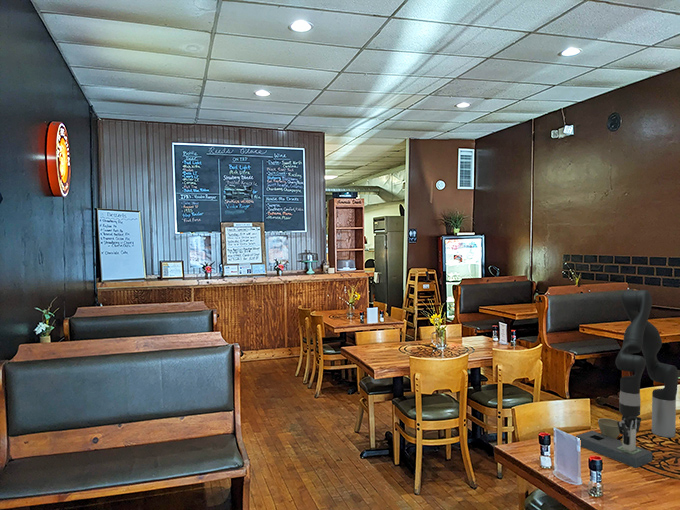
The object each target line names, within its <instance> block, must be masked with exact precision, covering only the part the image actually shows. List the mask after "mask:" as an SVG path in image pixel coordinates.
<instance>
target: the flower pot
mask: <svg viewBox="0 0 680 510" xmlns="http://www.w3.org/2000/svg"><path fill="white" fill-rule="evenodd" d="M618 421H619V420H616V419H613V418H603V417H601V418H598V419H597V424H598V428H599V430H600V433H601V434H603V435H606V436H609V437H612V438H615V439H617V438H618V437H619V436H620V435H621V434H620V432H619V428H618V424H617V422H618Z"/></svg>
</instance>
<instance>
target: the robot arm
mask: <svg viewBox="0 0 680 510" xmlns="http://www.w3.org/2000/svg"><path fill="white" fill-rule="evenodd" d="M620 301H621V304H622V307H623V309H624V311H625V313H626V315H627V317H628V319H629V322H630V324H629V325H628V326H627V327H626V329H625V331H624V334H623V342H622V347H621V348H620V350H619V352H618V354H617V356H616V358H615V366H616V368H617V369H618V370H620V371H623V372H629V373H634V374H633V375H624V376H622V377H620V380H619V383H620V385H619V386H620V388H619V395H618V397H619V398H618V399H619V400H618V401H619V403H618V406H619V407H618V408H619V409H618V410H619V413H620V414H621V421H619V420H617V421H618V422H617V424H618V428H619V432H620V434H619V435H622V439H623V443H624V444H626V445H629V444H630V431H631V430H632V428H634V429H636V433H639V432H640V426H641V423H642V417H640V416H641V379H642V375H643V373H644V371H645V368H646V371H647V374H648V377H649V378H650V380H651V381H654V382H655V383H659V384H660V383H661V384H664V385H663V388H656V389H653V390H652V393H651V396H652V398H651V401H652V403H651V433H652V434H654V435H656V436H659V437H664V438H675V437H676V423H677V422H676V420H677V418H676V416H677V415H676V413H677V410H676V409H677V408H676V406H677V402H676V401H677V394H678V385H679V384H678V382H679V370H678V368H677V366H675V365H672V364H669V363H668V364H667V363H664V362H660V361H659V360H658V357H657V354H658V353H659V351H660V349H661V348H662V345H663V342H662V341H663V340H662V338H661V335H660V331H659V330H658V328H657V327H656V326H655V325H654V324H652V323H651V322H650V321H649V317H650V314H651V310H652V306H653V297H652V294H651V293H650V292H649V290H647V289H639V290H625V291H623V292H621V297H620ZM641 352H642V355H643V356H641V355H637V353H641ZM626 427H628V428H626Z"/></svg>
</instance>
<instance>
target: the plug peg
mask: <svg viewBox="0 0 680 510" xmlns="http://www.w3.org/2000/svg"><path fill="white" fill-rule="evenodd" d="M626 428H628V427H626ZM636 436H637V432H636V429H634V428H632V430H631V431H630V444H629V445H626V444H624V443H623V438H622V439H621V441H622V444H623V449H624V450H627V451H629V452H634V451H636V445H637V444H636V443H637V442H636V441H637V440H636V439H637V438H636Z"/></svg>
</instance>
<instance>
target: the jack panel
mask: <svg viewBox="0 0 680 510" xmlns="http://www.w3.org/2000/svg"><path fill="white" fill-rule="evenodd" d="M576 437H578V438H580V440H581V446H580V447H581V448H584V449H586V450H589V451H591V452H594V453H597V454H599V455H601V456H604V457H606V458H609V459H612V460H614V461H616V462H620V463H622V464H624V465H626V466H629V467H631V468H634V469H637V468H640V467H642V466H645V465H647V464H649V463H652V462H653V451H651V450H648V449H645V448H643V447H640V446H636V451H634V452H629V451H627V450H624V449H623V444H622V440H620V439H617V438H616V439H615V438H612V437H609V436H606V435H603V434H602V433H601V432H597V431H596V430H589V431H587V432H583V433H581V434H576V435H575V438H576Z"/></svg>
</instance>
